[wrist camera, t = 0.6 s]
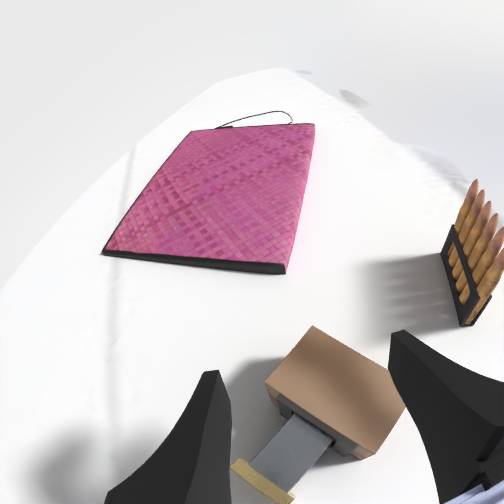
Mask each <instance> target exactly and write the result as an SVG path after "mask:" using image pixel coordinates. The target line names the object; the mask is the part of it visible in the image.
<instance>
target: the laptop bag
mask: <svg viewBox="0 0 504 504" xmlns="http://www.w3.org/2000/svg"><path fill="white" fill-rule="evenodd" d="M272 112H283V111H272ZM267 113H271V112H267ZM267 113H263V114H267ZM284 113H285V112H284ZM286 114H287V113H286ZM258 115H262V114H258ZM288 115H289V114H288ZM254 116H257V115H254ZM289 116H290V115H289ZM249 117H253V116H249ZM249 117H245V118H249ZM290 117H291V116H290ZM245 118H242V119H245ZM291 119H292V118H291ZM238 120H241V119H238ZM238 120H235V121H238ZM235 121H232V122H235ZM232 122H230V123H232ZM291 123H292V122H291ZM227 124H229V123H227ZM224 125H226V124H224ZM224 125H222V126H224ZM314 136H315V125H314V124H310V123H301V124H290V123H289V124H278V125H262V126H247V127H233V126H226V127H221V126H219V127H217V128H215V129H207V130H197V131H191V132H190V133H189V134H188V135H187V136H186V137H185V138H184V139H183V140H182V142H181V143H180V144H179V145H178V146H177V148H176V149H175V150H174V151H173V152H172V154H171V155H170V156H169V157H168V159H167V160H166V161H165V162H164V163H163V165H162V166H161V167H160V169H159V170H158V171H157V172H156V174H155V175H154V176H153V177H152V179H151V180H150V181H149V183H148V184H147V185H146V187H145V188H144V189H143V191H142V192H141V193H140V195H139V196H138V198H137V199H136V200H135V202H134V203H133V204H132V206H131V207H130V209H129V210H128V212H127V213H126V214H125V216H124V217H123V219H122V220H121V222H120V223H119V225H118V226H117V227H116V229H115V231H114V232H113V234H112V235H111V237H110V238H109V240H108V242H107V243H106V245H105V247H104V248H103V250H102V253H103V255H106V256H114V257H122V258H131V259H139V260H147V261H156V262H164V263H174V264H183V265H192V266H201V267H209V268H218V269H227V270H236V271H246V272H256V273H267V274H286V270H287V267H288V263H289V259H290V256H291V252H292V248H293V244H294V240H295V235H296V230H297V226H298V221H299V216H300V212H301V207H302V202H303V197H304V193H305V188H306V183H307V177H308V172H309V167H310V161H311V156H312V150H313V144H314Z"/></svg>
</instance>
